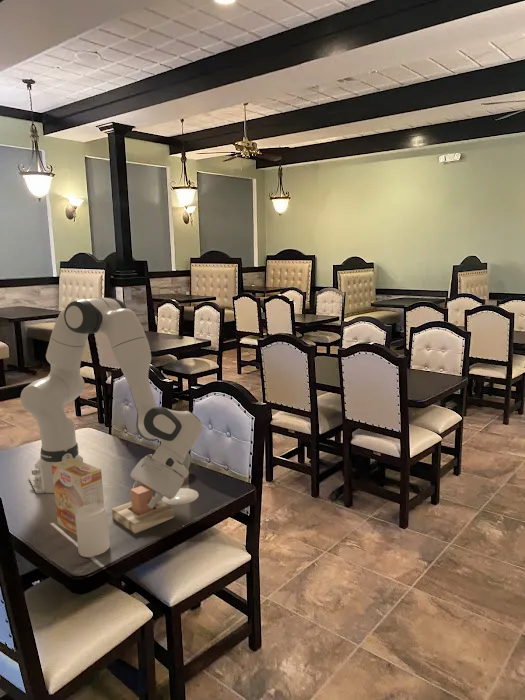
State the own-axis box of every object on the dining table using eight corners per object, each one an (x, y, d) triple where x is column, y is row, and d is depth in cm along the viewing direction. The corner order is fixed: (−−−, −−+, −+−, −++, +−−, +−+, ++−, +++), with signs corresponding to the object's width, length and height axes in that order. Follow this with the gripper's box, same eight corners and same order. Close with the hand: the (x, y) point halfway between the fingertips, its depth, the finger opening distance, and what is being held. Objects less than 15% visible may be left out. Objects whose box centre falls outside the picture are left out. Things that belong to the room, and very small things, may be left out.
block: (132, 517, 160) (130, 489, 158) (145, 512, 163) (143, 484, 161) (140, 523, 156) (138, 494, 155) (153, 517, 159) (151, 489, 158)
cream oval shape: (154, 499, 174) (153, 496, 173) (184, 487, 182) (184, 485, 181) (175, 511, 165) (174, 508, 165) (206, 498, 173) (206, 495, 173)
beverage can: (92, 562, 138) (89, 519, 136) (72, 554, 143) (68, 512, 141) (116, 547, 145) (113, 506, 143) (96, 540, 149) (92, 500, 147)
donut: (166, 479, 189) (164, 452, 187) (163, 475, 192) (161, 449, 190) (192, 473, 194) (191, 447, 192) (189, 470, 197) (188, 444, 195)
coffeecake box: (56, 526, 157) (50, 464, 154) (78, 517, 163) (72, 456, 159) (85, 543, 148) (79, 476, 144) (107, 532, 153) (102, 468, 150)
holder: (112, 521, 160) (111, 508, 159) (150, 506, 169) (149, 494, 168) (135, 536, 151) (134, 523, 150) (173, 520, 159) (173, 508, 159)
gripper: (141, 447, 169) (115, 486, 164) (179, 465, 154) (151, 508, 149) (154, 457, 172) (129, 495, 168) (192, 475, 158) (166, 517, 153)
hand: (140, 501), depth 158 cm, fingers open, 8 cm apart
